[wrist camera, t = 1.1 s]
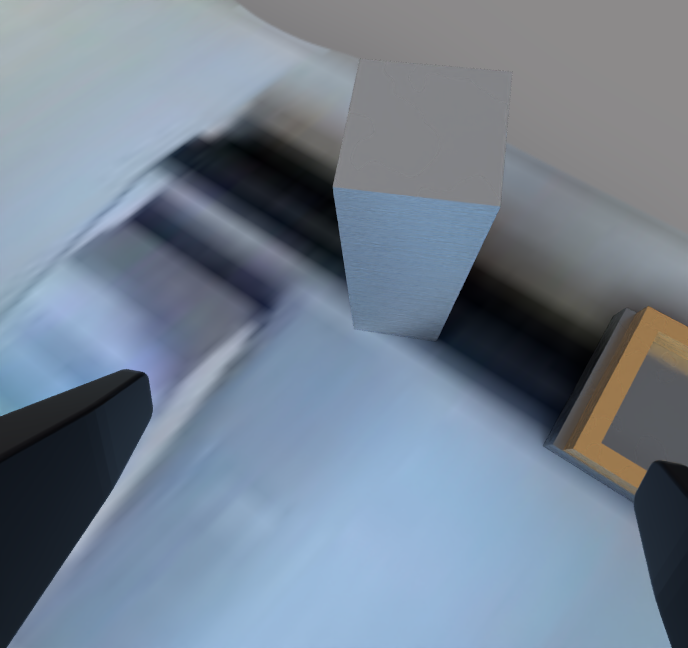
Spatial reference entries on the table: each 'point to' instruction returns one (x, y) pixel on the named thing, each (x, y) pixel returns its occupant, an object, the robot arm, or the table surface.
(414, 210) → the gray block
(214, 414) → the table surface
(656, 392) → the rail
